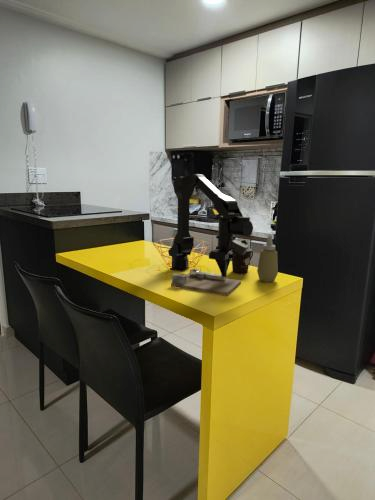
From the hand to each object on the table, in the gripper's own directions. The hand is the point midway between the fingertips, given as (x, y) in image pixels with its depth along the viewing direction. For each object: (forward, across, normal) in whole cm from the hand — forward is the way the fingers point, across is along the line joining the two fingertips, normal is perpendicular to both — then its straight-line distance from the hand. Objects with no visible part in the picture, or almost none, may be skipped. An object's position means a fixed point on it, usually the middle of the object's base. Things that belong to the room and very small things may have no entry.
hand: (224, 273), depth 129 cm
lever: (+3, 0, +7) cm, 7 cm away
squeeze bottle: (+4, +12, -14) cm, 19 cm away
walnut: (+3, -8, +13) cm, 16 cm away
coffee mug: (+4, +20, -2) cm, 21 cm away
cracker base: (+4, -5, +5) cm, 8 cm away
